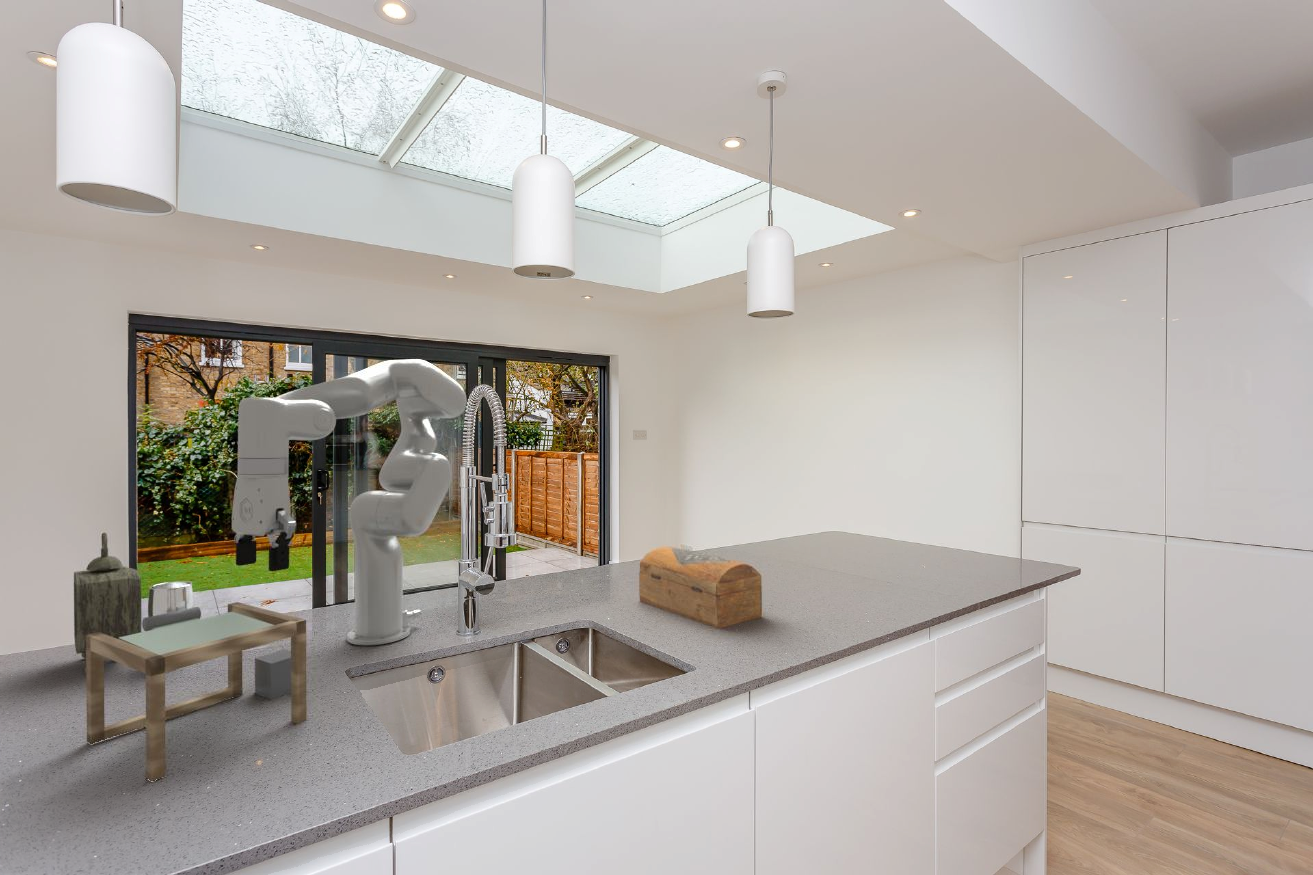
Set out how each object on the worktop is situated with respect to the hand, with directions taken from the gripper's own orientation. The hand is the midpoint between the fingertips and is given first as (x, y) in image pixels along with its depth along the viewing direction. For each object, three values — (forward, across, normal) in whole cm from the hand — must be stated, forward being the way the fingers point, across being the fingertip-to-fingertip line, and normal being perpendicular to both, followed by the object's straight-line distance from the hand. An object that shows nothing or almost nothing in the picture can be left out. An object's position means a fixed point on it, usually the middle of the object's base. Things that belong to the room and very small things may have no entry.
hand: (262, 567), depth 109 cm
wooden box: (+20, +46, +81) cm, 96 cm away
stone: (+21, +4, +1) cm, 21 cm away
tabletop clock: (+21, -39, -7) cm, 45 cm away
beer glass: (+21, -27, -1) cm, 35 cm away
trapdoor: (+7, +7, -13) cm, 17 cm away
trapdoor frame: (+21, +8, -13) cm, 26 cm away
